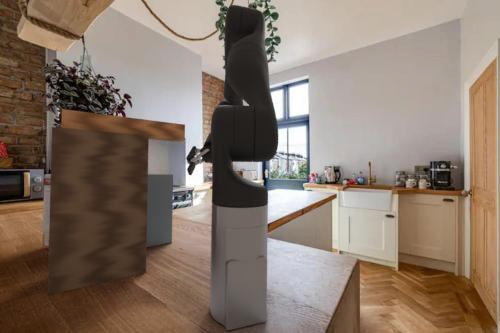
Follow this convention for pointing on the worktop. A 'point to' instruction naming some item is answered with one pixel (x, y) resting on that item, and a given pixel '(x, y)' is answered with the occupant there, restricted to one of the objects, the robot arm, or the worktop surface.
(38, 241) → the worktop surface
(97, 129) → the brown bar
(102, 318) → the worktop surface
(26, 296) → the worktop surface
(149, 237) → the slate pedestal
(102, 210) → the walnut pedestal
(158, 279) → the worktop surface
